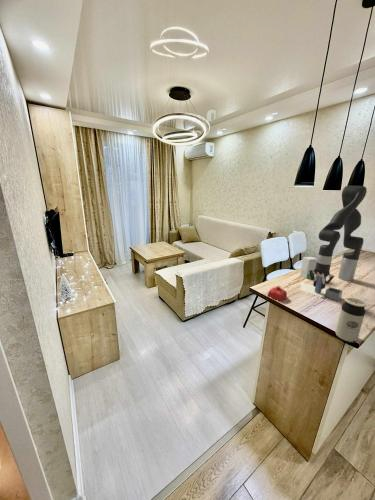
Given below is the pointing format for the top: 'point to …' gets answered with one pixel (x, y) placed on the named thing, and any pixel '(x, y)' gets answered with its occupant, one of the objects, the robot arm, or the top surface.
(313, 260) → the skincare box
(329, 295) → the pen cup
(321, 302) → the top surface
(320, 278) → the marker
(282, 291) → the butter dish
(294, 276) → the top surface
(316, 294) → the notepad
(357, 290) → the top surface
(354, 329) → the travel mug
